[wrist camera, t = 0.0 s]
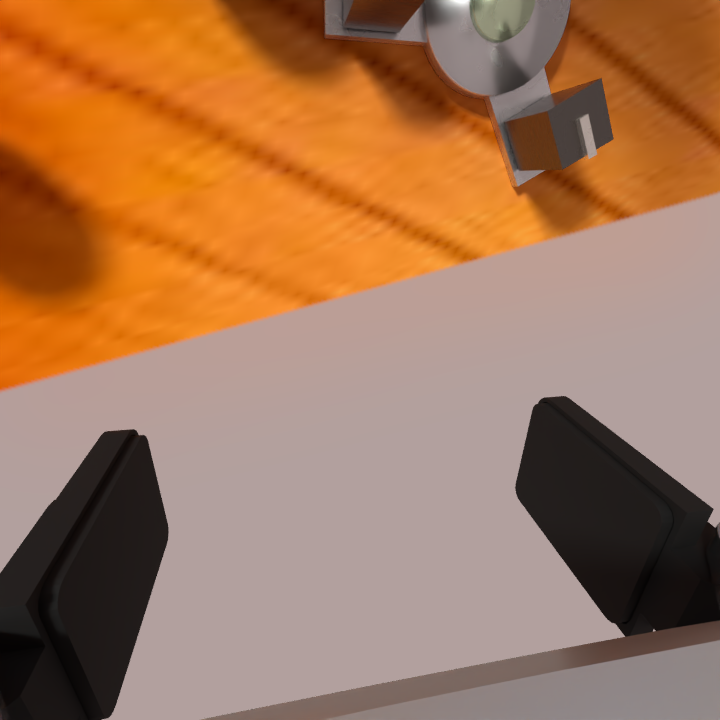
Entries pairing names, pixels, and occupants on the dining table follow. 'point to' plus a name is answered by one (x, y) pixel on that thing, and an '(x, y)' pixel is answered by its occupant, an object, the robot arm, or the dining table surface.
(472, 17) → the tribrach base
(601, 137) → the knob
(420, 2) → the knob
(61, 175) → the dining table surface
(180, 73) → the dining table surface
